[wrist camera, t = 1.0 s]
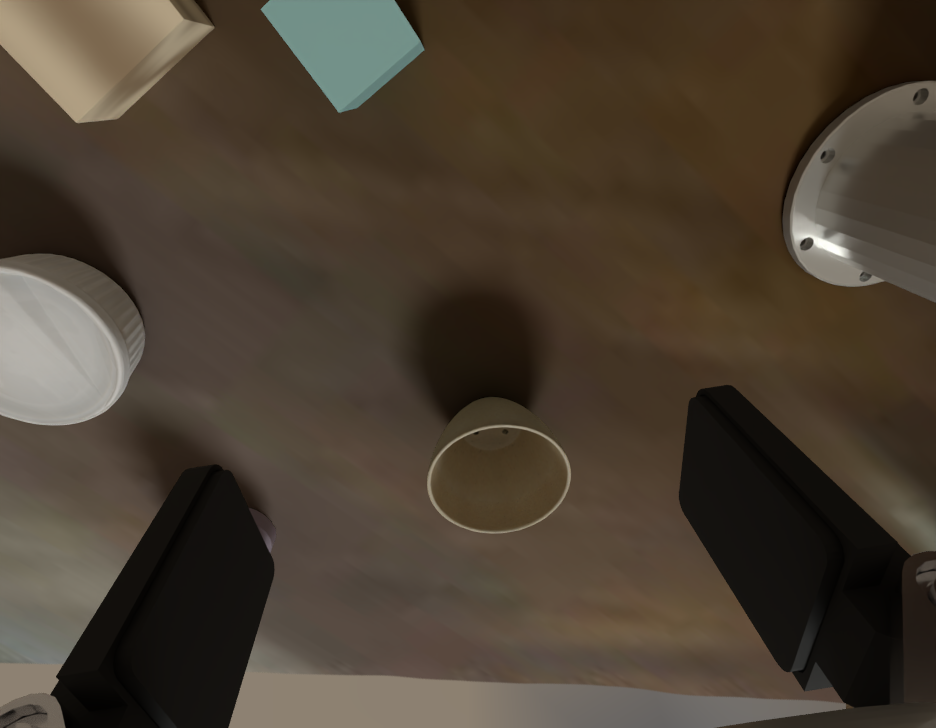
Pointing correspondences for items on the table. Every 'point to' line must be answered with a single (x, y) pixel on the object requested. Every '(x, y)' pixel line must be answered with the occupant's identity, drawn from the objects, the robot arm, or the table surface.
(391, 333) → the table surface
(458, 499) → the flower pot
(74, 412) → the ramekin
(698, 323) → the table surface
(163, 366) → the table surface
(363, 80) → the block
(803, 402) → the table surface
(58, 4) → the base
